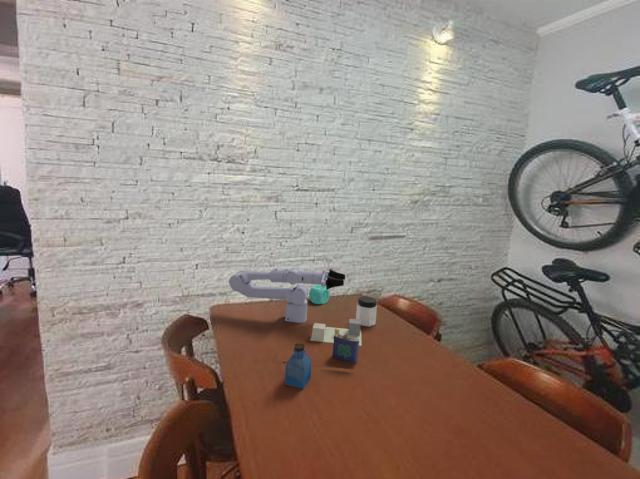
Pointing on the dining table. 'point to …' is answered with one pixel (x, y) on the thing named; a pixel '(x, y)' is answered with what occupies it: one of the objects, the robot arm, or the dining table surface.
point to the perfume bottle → (298, 367)
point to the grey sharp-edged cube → (354, 327)
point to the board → (331, 335)
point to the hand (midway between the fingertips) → (344, 279)
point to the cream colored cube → (318, 332)
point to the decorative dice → (319, 294)
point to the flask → (345, 348)
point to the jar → (366, 310)
